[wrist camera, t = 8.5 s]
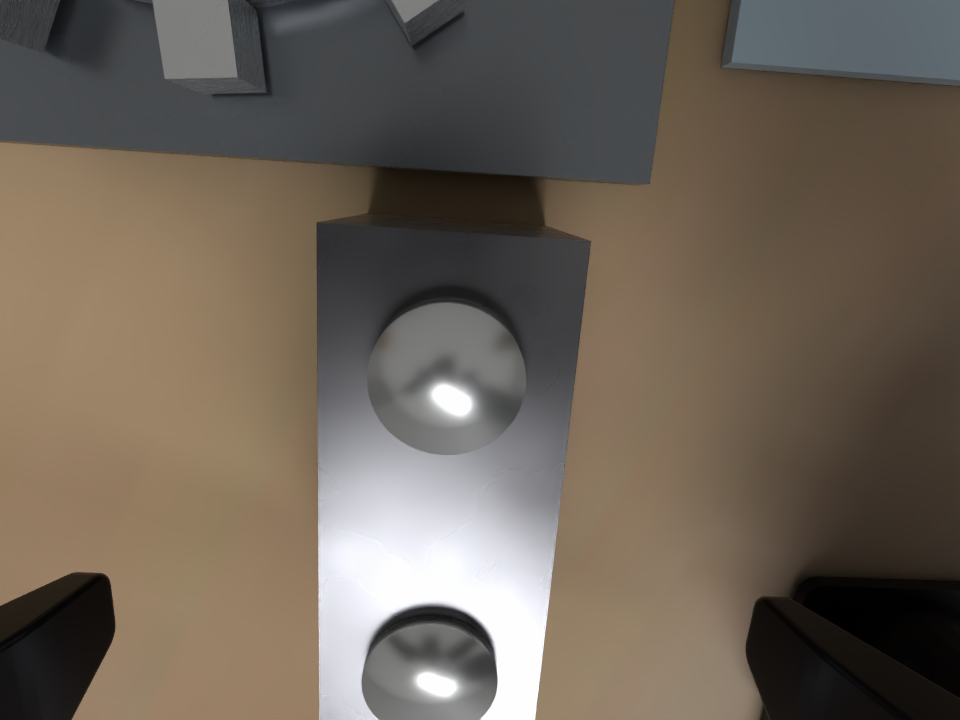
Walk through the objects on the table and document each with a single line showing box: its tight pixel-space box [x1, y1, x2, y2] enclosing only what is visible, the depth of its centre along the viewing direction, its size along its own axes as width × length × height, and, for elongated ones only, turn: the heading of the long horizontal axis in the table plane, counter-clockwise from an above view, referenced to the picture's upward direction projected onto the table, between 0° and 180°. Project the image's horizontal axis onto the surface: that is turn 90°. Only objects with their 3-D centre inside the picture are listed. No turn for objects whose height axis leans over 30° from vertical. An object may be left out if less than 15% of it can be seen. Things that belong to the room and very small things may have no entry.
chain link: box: [317, 214, 591, 720], centre depth 12 cm, size 4×10×5 cm, turn 176°
